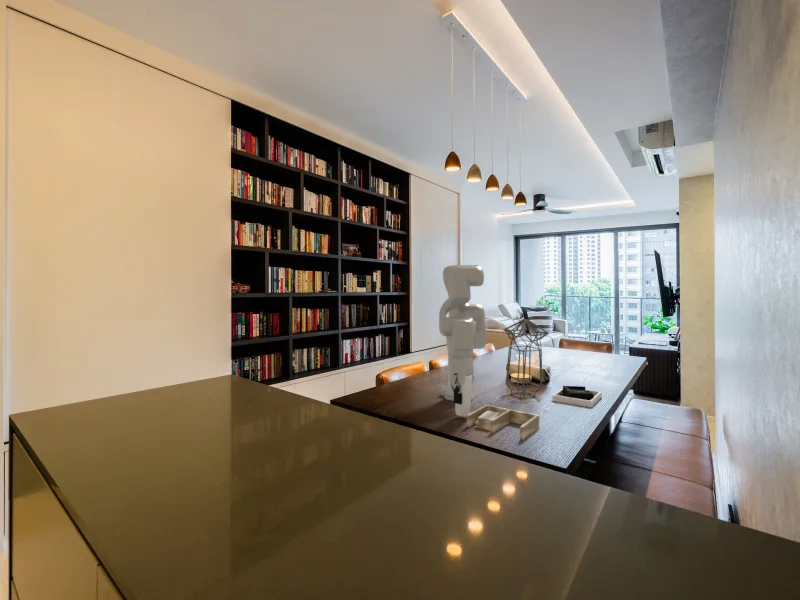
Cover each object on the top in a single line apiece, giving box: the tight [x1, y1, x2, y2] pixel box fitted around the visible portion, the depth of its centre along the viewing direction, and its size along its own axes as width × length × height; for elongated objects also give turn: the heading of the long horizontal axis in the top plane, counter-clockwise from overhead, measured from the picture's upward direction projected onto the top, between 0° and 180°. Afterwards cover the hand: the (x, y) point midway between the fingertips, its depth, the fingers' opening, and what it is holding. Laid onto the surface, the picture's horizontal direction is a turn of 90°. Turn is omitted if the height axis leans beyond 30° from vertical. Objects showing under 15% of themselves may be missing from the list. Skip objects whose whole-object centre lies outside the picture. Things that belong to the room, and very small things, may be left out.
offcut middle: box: [475, 421, 491, 431], centre depth 138 cm, size 6×10×2 cm, turn 145°
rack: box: [466, 404, 540, 441], centre depth 135 cm, size 20×15×5 cm
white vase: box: [454, 374, 473, 417], centre depth 144 cm, size 7×7×15 cm
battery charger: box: [562, 385, 594, 401], centre depth 171 cm, size 13×10×4 cm
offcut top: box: [478, 411, 500, 424], centre depth 138 cm, size 5×9×2 cm, turn 147°
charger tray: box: [551, 387, 603, 408], centre depth 171 cm, size 16×19×2 cm
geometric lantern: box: [502, 318, 550, 400], centre depth 176 cm, size 16×16×35 cm
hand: (462, 400), depth 144 cm, fingers closed on white vase, 6 cm apart
